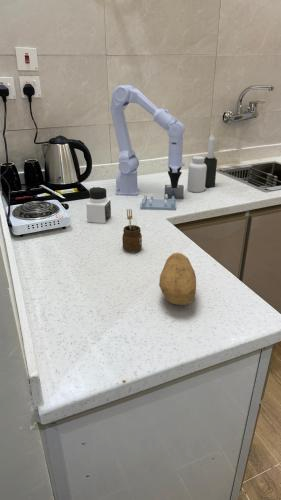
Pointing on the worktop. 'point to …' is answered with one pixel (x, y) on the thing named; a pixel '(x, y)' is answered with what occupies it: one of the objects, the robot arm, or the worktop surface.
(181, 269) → the potato
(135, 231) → the utensil holder
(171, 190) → the block
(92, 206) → the medicine bottle
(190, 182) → the pill bottle
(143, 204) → the tray
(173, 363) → the worktop surface
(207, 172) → the candle
